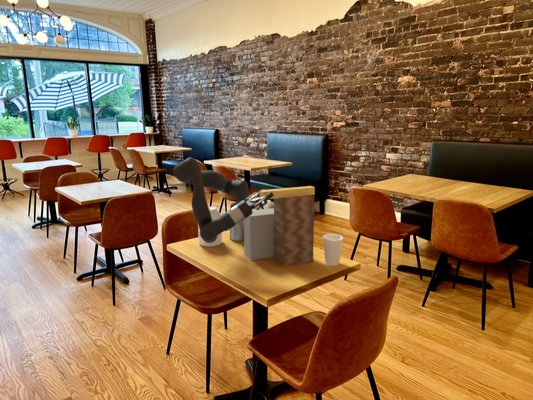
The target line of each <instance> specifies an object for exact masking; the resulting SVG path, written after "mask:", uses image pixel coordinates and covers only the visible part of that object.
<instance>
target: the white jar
mask: <svg viewBox="0 0 533 400" xmlns="http://www.w3.org/2000/svg"><path fill="white" fill-rule="evenodd" d="M208 207H209V210H210V213H211V217H212V221H213V220H215V219H217V218H219V217H220V216H221V215H222V214H221V213H220V211H218V208H217V207H216V206H209V205H208ZM197 228H198V230H197V232H198V233H197V234H198V244H199V245H200V246H202V247H207V248H208V247H209V248H210V247H217V246H219V245H221V244H222V242H223V232H222V233H220V234H219V235H217V239H216V240H215V241H214V242H212V243H207V242H205V241H204V240H203V239H202V238H201V236H200V228H199V225H198V224H197Z"/></svg>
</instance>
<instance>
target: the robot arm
mask: <svg viewBox="0 0 533 400" xmlns="http://www.w3.org/2000/svg"><path fill="white" fill-rule="evenodd" d="M172 173H173V176H174V177H175V178H176V179H177V180H178V181H179V182H181V183H183V184H191V185H193V190H192V195H191V196H192V197H191V208H192V209H191V210H192V213H193V216H194V218H195V221H196V223H197V226H198V225H199V228H200V236H201V238H202V239H203V240H204V241H205V242H207V243H212V242H214V241H215V240H216V239H217V235H219V234H220V233H222V234H223V233H224V232H227V231H229V240H232V241H235V242H243V241H244V219H246V218H247V217H249V216H250V215H252V214H253V212H252V210H261V208H263V207H264V206H265V205H267V204H268V203H269V202H268V201H269V200H271V199H270V198H271V197H273V196H274V195H273V193H272V192H270V193H268V194H267V195H265V196H264V197H261V198H260V191H258V192H253V193H252V194H251V195H249V184H248V183H247V181H246V180H239V179H230V178H229V179H228V178H226V177H225V175H224V174H222V173H220V172H218V171H215V170H210V169H209V170H207V169H206V170H202V169H201V166H200V162H198V160H197V159H196V158H194V157H188V158H186V159H184V160H182V161H181V162H179V163H177V164H176V165H175V166H174V167H173V171H172ZM205 188H206V189H209V190H212V191H214V192H215V191H216V192H221V193H224V194H226V195H228V196H230V197H234V198H237V200H236V202H235V201H234V202H232V203H230V208H229V209H228V210H227V211H226V212H224V213H223V214H221V216H220V217H219V218H217V219H215V220H213V221H212V217H211V213H210V210H209V207H208V206H209V205H208V200H207V197H206V192H205V191H206V190H205ZM262 190H267V188H263V189H262Z"/></svg>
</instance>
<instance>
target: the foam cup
mask: <svg viewBox="0 0 533 400" xmlns="http://www.w3.org/2000/svg"><path fill="white" fill-rule="evenodd" d="M322 244H323V245H322V246H323V253H324V263H325V265H327V266H329V267H337V266H339V264H340V260H341V255H342V250H343V249H342V248H343V244H344V237H343V236H342V235H340V234H336V233H329V234H328V233H327V234H324V235H322Z"/></svg>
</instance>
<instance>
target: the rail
mask: <svg viewBox="0 0 533 400" xmlns="http://www.w3.org/2000/svg"><path fill="white" fill-rule="evenodd" d="M259 192H260V198H261V197H264V196H265V195H267V194H268V193H270V192H272V193H273V195H274V196H273V197H271V198H270V199H269V200H272V199H273V200H274V198H285V197H295V196H306V195H312V196H315V195H316V194H315V192H316V189H315V186H312V185H307V186H297V187H284V188H273V189H272V188H271V189H266V190H263V189H260V190H259Z"/></svg>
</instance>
